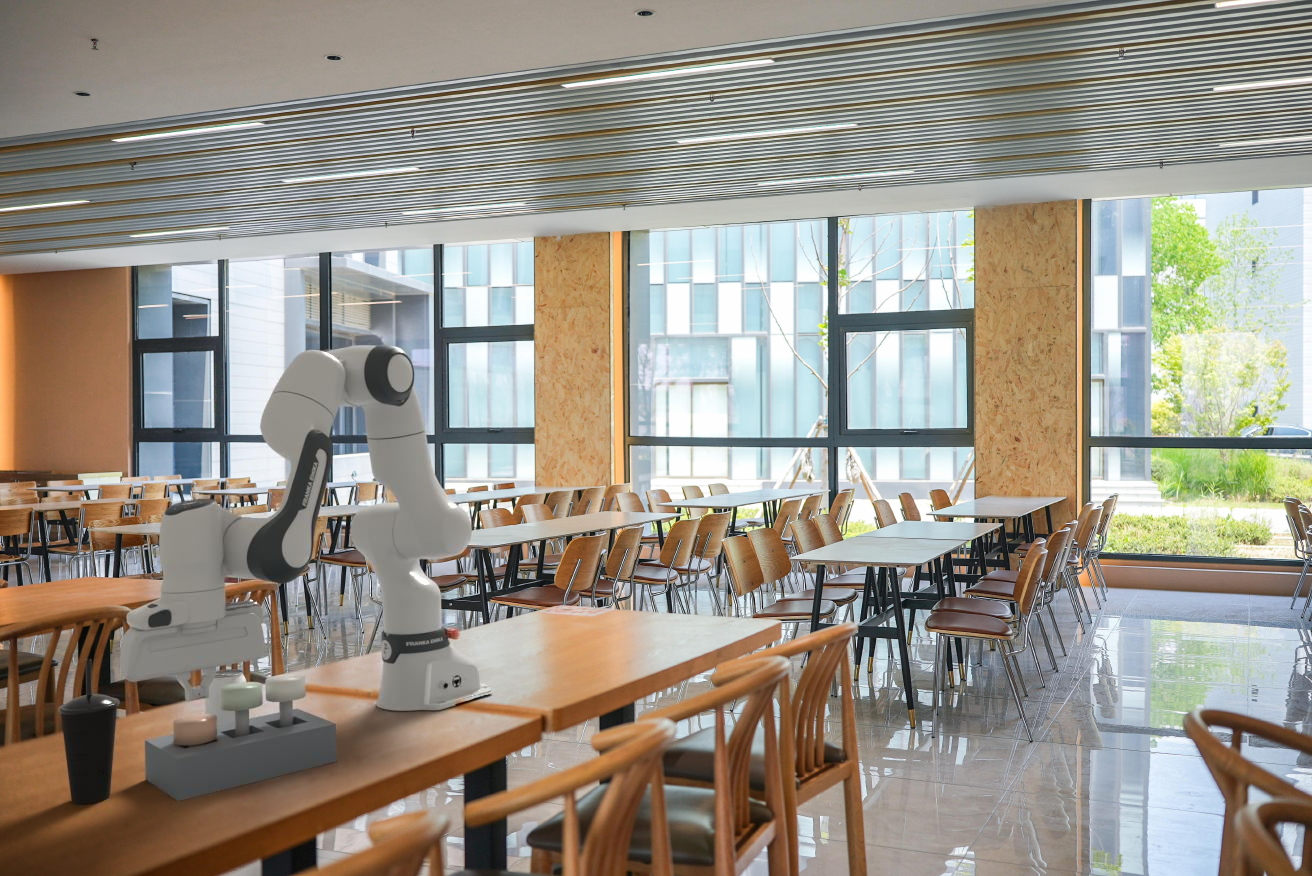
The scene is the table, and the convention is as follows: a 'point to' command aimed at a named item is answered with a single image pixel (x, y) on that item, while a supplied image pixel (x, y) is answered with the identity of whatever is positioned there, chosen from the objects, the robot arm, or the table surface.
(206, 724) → the knob
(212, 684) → the can
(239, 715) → the knob mid
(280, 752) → the mount
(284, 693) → the knob
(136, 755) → the table surface
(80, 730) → the drinking cup
